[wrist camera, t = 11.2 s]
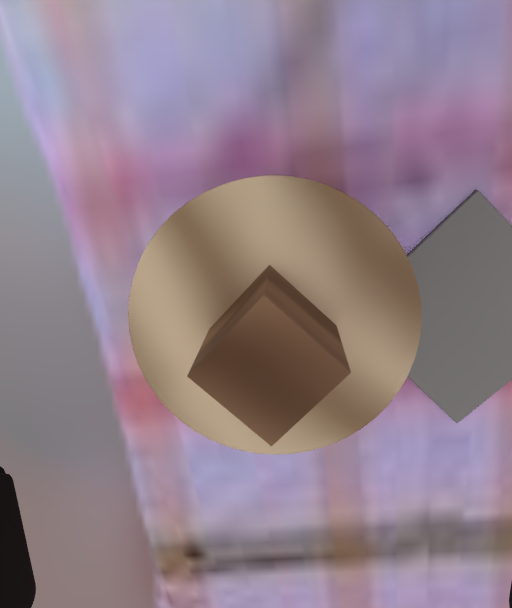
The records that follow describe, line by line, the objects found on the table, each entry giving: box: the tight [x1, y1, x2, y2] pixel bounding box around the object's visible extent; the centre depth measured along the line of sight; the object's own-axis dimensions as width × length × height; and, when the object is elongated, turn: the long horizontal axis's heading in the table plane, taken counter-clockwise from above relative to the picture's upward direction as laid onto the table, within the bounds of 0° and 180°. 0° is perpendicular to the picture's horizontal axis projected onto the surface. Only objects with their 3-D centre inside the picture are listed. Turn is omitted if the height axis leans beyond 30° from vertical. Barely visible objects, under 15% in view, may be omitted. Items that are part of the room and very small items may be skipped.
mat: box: [407, 190, 512, 423], centre depth 42 cm, size 15×15×1 cm
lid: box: [128, 175, 422, 454], centre depth 19 cm, size 13×13×6 cm
